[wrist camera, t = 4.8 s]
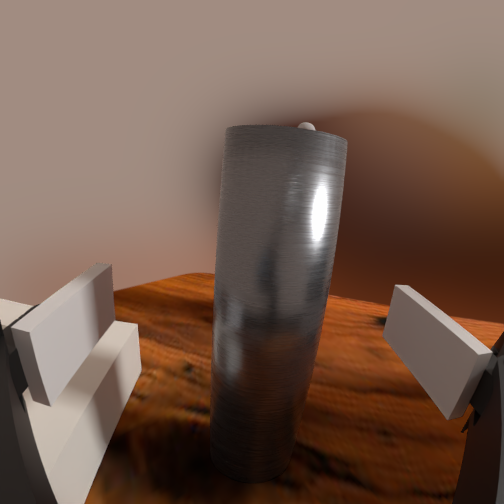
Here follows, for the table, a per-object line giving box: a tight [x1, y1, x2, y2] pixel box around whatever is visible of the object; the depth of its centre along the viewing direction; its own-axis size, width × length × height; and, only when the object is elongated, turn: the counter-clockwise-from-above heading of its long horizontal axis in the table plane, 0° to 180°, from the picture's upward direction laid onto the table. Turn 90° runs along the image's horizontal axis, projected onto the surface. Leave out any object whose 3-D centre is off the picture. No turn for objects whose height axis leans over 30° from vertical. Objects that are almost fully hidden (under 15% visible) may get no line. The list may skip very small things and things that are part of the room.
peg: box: [210, 125, 347, 483], centre depth 13 cm, size 4×4×16 cm
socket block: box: [0, 299, 141, 504], centre depth 14 cm, size 14×14×4 cm
